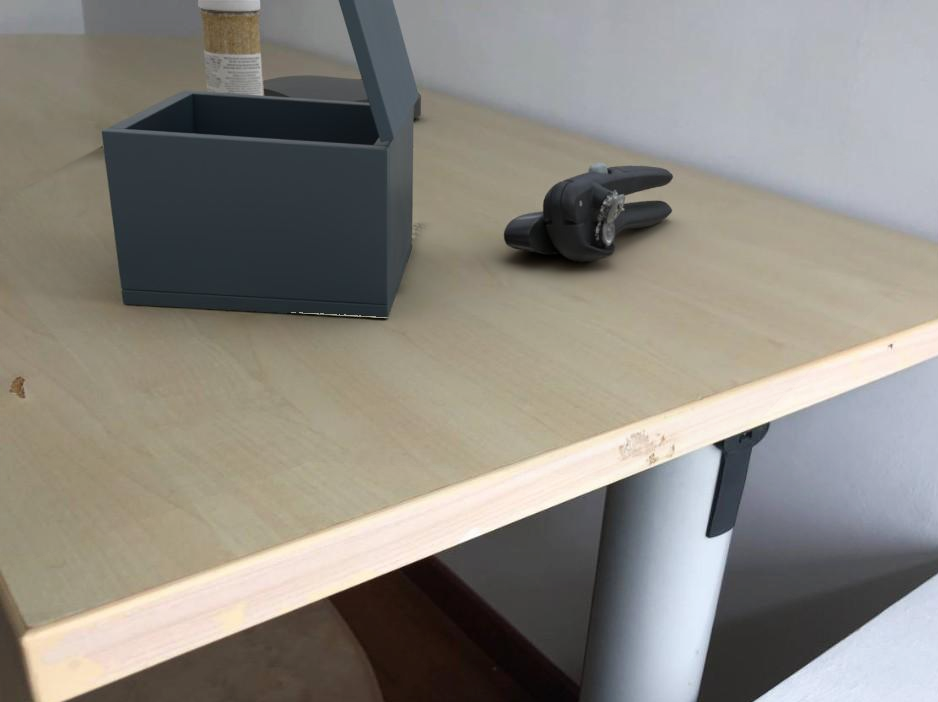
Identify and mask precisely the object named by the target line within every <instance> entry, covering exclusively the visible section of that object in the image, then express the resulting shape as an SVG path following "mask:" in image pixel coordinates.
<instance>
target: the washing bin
mask: <svg viewBox="0 0 938 702" xmlns="http://www.w3.org/2000/svg"><path fill="white" fill-rule="evenodd" d="M414 119H415V118H414V107H413V108H412V110H411V111H410V113H409V115H408V117H407V118H406V120H405V122H404V123H403V125H402V127H401V128H400V130H399V132H398V133H397V135H396V137H395V138H394V139H393V140H389V141H384V142H381V141H380V138H379V135H378V131H377V128H376V125H375V121H374V118H373V115H372V111H371V108H370V105H369V103H364V102H349V101H334V100H320V99H305V98H290V97H275V96H260V95H245V94H230V93H216V92H207V91H201V90H200V91H198V90H185V89H184V90H182V91H179V92H177V93H175V94H173V95H171V96H169V97H167V98H165V99H163V100H161V101H159V102H157V103H155V104H153V105H151V106H149V107H147V108H145V109H143V110H141V111H139V112H137V113H135V114H133V115H131V116H128V117H126V118H124V119H122V120H120V121H118V122H116V123H114V124H113V125H110V126H108V127H107V128H105V129H103V130H101V138H102V146H103V153H104V154H103V155H104V162H105V169H106V177H107V185H108V193H109V202H110V208H111V209H110V210H111V217H112V226H113V233H114V241H115V249H116V257H117V265H118V272H119V273H118V274H119V281H120V289H121V298H122V304H123V305H135V306H149V307H150V306H151V307H152V306H154V307H166V308H167V307H168V308H184V309H203V310H220V311H235V310H236V311H239V312H254V311H256V313H270V312H280V313H279V314H287V313H291V312H296V313H299V312H303V313H319V314H320V313H324V314H337V315H339V314H340V315H344V314H346V315H358V316H359V315H361V316H376V317H388V318H389V316H390V313H391V310H392V307H393V305H394V301H395V298H396V296H395V295H397V292H398V290H399V287H400V283H401V281H402V277H403V275H404V272H405V269H406V266H407V263H408V260H409V258H410V255H411V251H412V249H413V209H414V208H413V205H414V204H413V203H414V202H413V199H414V192H413V191H414ZM390 309H391V310H390ZM389 312H390V313H389ZM254 313H255V312H254ZM388 315H389V316H388Z"/></svg>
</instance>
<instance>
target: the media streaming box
mask: <svg viewBox="0 0 938 702" xmlns="http://www.w3.org/2000/svg"><path fill="white" fill-rule="evenodd" d="M263 85H264V96H275V97H290V98H305V99H320V100H334V101H349V102H364V103H369V101H368V98H367V94H366V91H365V88H364V84H363V81H362V78H348V77H337V76H336V77H335V76H328V75H327V76H326V75H310V74H309V75H308V74H306V75H304V74H303V75H302V74H301V75H288V76H287V75H286V76H279V77H274V78H273V77H272V78H269V79H263ZM418 94H419V98H418V100H417V101H416V103H415V105H414V106H413V107H414V119H416V118H418V117H421V115H422V95H421V94H420V92H418Z"/></svg>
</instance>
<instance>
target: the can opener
mask: <svg viewBox="0 0 938 702" xmlns="http://www.w3.org/2000/svg"><path fill="white" fill-rule="evenodd" d="M673 178H674V175H673V173H672V172H670V170H668V169H666V168H663V167H658V166H649V165H617V166H609V167H608V166H607V164H606V163H605V162H604V163H603V162H597V163H596V162H595V163H593V164H591V165H589V168H588V171H587V172H584V173H580V174H578V175H575V176H572V177H569V178H565V179H564V180H562V181H558V182H557V183H555V184H553V185H552V186H551V188H550V189H549V190H548V191H547V193H546V194H545V196H544V198H543V202H542V211H535V212H529V213H525V214H524V213H523V214H521V215H519V216H516V217H514V218H512V219H511V220H510V221H509V222H508V224H507V225H506V227H505V228H504V230H503V241H504V242H505V244H506V245H507V246H508V247H510V248H512V249H514V250H519V251H525V252H530V253H538V254H543V255H556V254H561V256H563V257H565V258H566V259H568V260H571V261H573V262H581V263H582V262H584V263H585V262H591V261H597V260H601V259H605V258H608V257H610V256H612V255H613V254H615V252H616V245H615V237H616V236H617V234H619V232H620V231H621V230H625V229H642V228H647V227H650V226H651V227H652V226H653V225H656V224H658V223H660V222H662V221H663V220H665V219H667V218H668V217H669V216H670V215H671V214H672V213H673V208H672V207H671V206H670V204H669V203H667V202H666V201H663V200H642V201H634V202H626V203H625V200H626V196H628V195H632V194H635V193H639V192H643V191H646V190H651V189H655V188H660V187H661V188H662V187H664V186H667V185H668V184H670V183H671V182H672V181H673Z"/></svg>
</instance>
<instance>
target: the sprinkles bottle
mask: <svg viewBox="0 0 938 702" xmlns="http://www.w3.org/2000/svg"><path fill="white" fill-rule="evenodd" d="M197 6H198V8H200V10H199V13H200V15H201V24H202V35H203V46H204V48H203V55H204V70H205V82H206V83H205V84H206V92H216V93H230V94H245V95H260V96H264V85H263V81H264V77H263V63H262V61H263V60H262V49H261V34H260V21H259V18H260V15H261V14H260V12H259V11H260V10H261V0H197Z"/></svg>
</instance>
